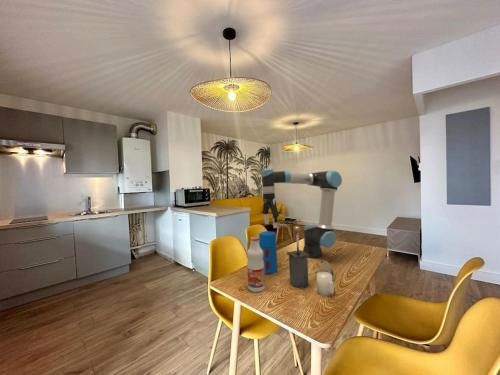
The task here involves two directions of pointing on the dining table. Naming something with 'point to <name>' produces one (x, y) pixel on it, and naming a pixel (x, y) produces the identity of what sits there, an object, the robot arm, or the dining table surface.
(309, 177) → the robot arm
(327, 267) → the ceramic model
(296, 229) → the plunger
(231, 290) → the dining table surface
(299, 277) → the press body
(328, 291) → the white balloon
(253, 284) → the fruit juice
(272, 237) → the thermos
